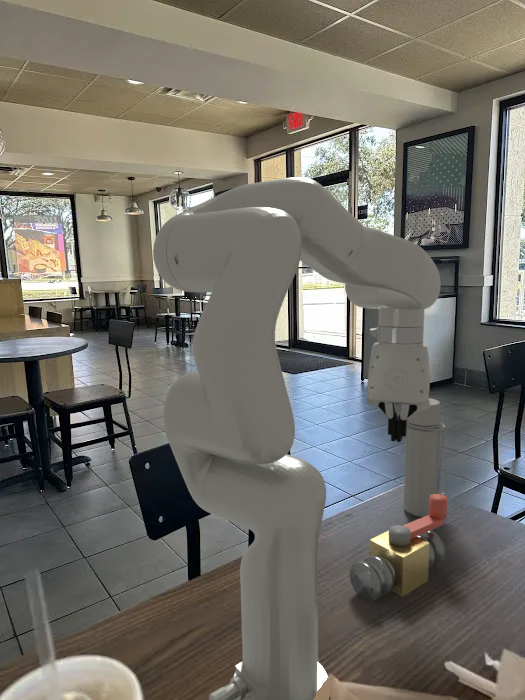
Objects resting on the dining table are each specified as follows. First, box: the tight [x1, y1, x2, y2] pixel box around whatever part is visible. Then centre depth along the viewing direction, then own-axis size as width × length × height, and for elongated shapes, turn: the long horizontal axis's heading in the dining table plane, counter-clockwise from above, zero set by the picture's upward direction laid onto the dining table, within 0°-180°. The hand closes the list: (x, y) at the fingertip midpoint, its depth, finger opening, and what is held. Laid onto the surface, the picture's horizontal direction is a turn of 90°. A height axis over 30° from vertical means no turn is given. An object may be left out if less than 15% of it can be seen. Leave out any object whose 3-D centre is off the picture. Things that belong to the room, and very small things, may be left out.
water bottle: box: [403, 397, 449, 518], centre depth 110 cm, size 9×8×25 cm
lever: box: [388, 493, 448, 546], centre depth 89 cm, size 13×4×5 cm, turn 123°
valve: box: [349, 529, 446, 603], centre depth 87 cm, size 18×7×7 cm, turn 127°
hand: (396, 439), depth 90 cm, fingers closed
